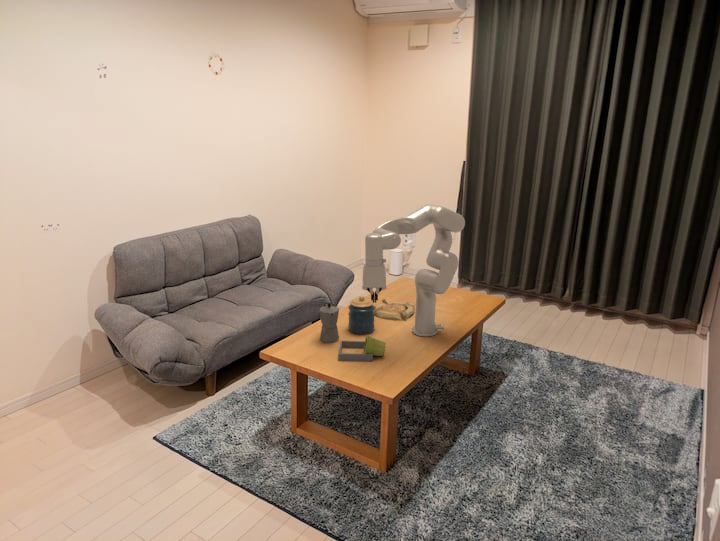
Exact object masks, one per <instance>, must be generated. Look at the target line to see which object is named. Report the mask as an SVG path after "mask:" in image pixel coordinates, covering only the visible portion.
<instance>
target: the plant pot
mask: <svg viewBox="0 0 720 541" xmlns="http://www.w3.org/2000/svg"><path fill="white" fill-rule="evenodd" d="M364 341H365V344H364V348H363V352H362V354H373V357H384V354H385V352H386V342H385V341H382V340H378V339H376V338H373V337H371V336H369V334H366V336H365V340H364Z"/></svg>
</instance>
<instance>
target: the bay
mask: <svg viewBox="0 0 720 541" xmlns="http://www.w3.org/2000/svg"><path fill="white" fill-rule="evenodd" d="M364 344H365V340H364V341H363V340H362V341H361V340H340V343H339V350H338V357H337V358H338V360H337V361H344V362H345V361H349V362H352V361H353V362H354V361H357V362H373V360H374V356H373V354H363V353H352V352H349V353H348V352H347V353H345V352H343V348H345V349H346V348H347V349H349V348H351V349H353V348H354V349H364ZM342 352H343V353H342Z"/></svg>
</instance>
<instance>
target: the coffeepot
mask: <svg viewBox="0 0 720 541" xmlns="http://www.w3.org/2000/svg"><path fill="white" fill-rule="evenodd" d="M318 310H319V317H320V322H321V324H322V325H321V330H320V336H319V340H320V341H321V342H323V343H327V344H329V343H330V344H332V343H336V342H338V341H339V339H340V335H339V334H340V333H339V329H338V326H337V323H338V319H339V313H340V312H339V311H340V308H339V307H337V306H335V305H334V306H333V305H332V303H330V302H329V303H327V302H325V303H324V304H323V306H321V307H320V309H318Z"/></svg>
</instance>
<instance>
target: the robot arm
mask: <svg viewBox="0 0 720 541" xmlns="http://www.w3.org/2000/svg"><path fill="white" fill-rule="evenodd" d="M429 225H433V227H434V231H435V236H434V239H433V243H432V245H431V247H430V250H429V252H428V254H427V257H426V265H427V266H428V267H429V268H432V269H434V270H431V269H428V268H427V269H426V268H422V269H419V270H418V271H417V272H416V273H415V276H414V283H415V284H414V285H415V292H416V293H415V295H416V296H415V313H414V314H415V318H414V319H415V320H414V325H413V326H412V327H411V333H412V334H414V335H415V336H419V337H433V336H435V335H437V334H438V330H440V331H441V330H445V325H442V324H441V323H440V324H439V323H436V307H437V306H436V304H437V296H436V295H444V294H445V293H447V291H448V290H449V288H450V286H451V285H452V282H453V279H454V277H455V275H456V272H457V271H458V267H459V257H458V256H457V254H455V253H453V252H452V251H451V252H450V250H451V249H452V248H451V247H452V244H453V235H452V233H459V232H462V231H463V229H464V228H465V226H466V220H465V218H464V216H463V215H462V214H460V213H459V212H455V211H454V210H452V209H449V208H447V207H446V206H445V207H444V206H441V205H436V204H431V203H430V204H429V203H428V204H425V205H424V206H421V207H419V208H418V209H416V210H415V211H413V212H412V213H410V214H408V215H406V216H404V217H399V218H395V219H392V220H389V221H386V222H384V223H383V224H381V225H379V226H378V227H376V228H375V229H374V230H373V231H372V232H371V233H368V234H366V235H365V237H364V242H365V244H364V246H365V247H364V248H365V250H364V251H365V252H364V253H365V254H364V255H365V264H363V267H362V286H361V288H362V289H361V290H364V291H367V292H368V293H369V294H370V300H371V301H373V304H374V303H375V304H376V303H377V301H379V293H380V292H381V291H385V290H387V274H386V273H387V270H386V266H385V263H387V259H385V258H384V251H385V250H395V249H397V248H398V247H399V246H400V245H401V242H402V238H401V236H400V235H414V234H416V233H418V232H420V231H421V230H422V229H424V228H426V227H428V226H429ZM435 270H438V271H435ZM374 289H375V291H374Z"/></svg>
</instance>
